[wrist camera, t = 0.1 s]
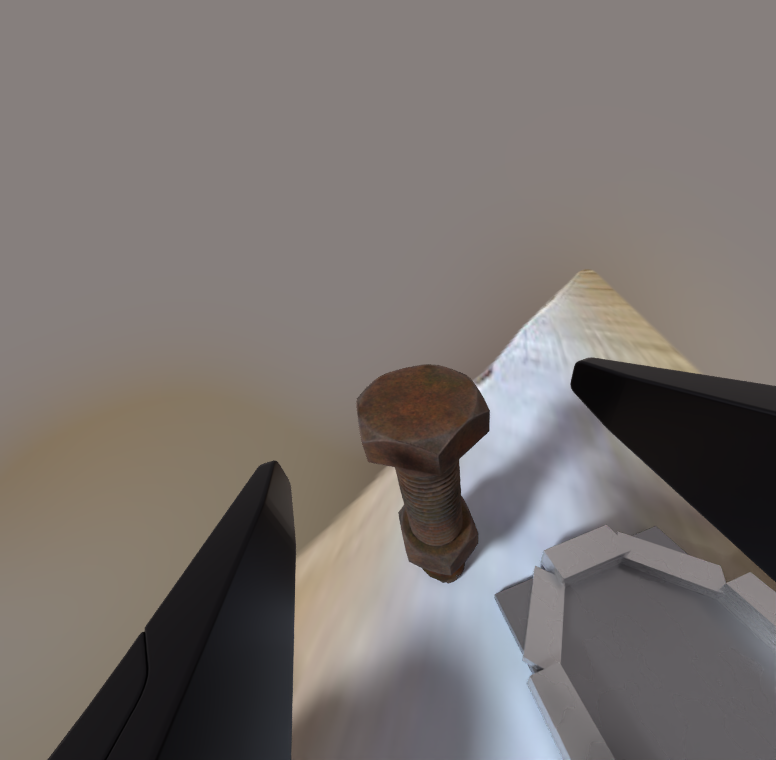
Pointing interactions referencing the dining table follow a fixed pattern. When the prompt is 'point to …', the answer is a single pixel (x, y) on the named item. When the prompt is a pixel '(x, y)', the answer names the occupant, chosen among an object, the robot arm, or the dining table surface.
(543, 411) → the dining table surface
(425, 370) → the bolt
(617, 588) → the ring collar
